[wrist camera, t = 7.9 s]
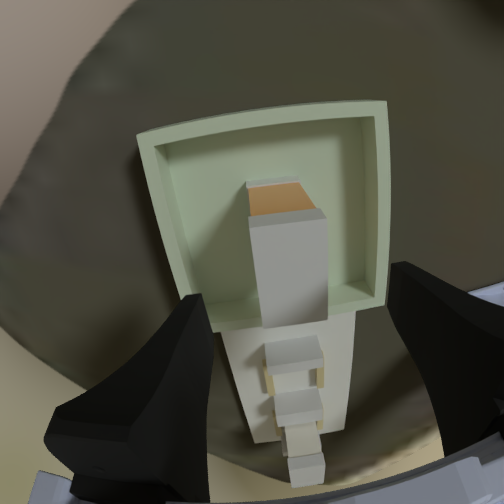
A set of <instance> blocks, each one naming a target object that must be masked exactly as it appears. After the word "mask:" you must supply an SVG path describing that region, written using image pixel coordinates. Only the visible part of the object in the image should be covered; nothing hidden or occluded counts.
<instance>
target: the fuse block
mask: <svg viewBox="0 0 504 504" xmlns="http://www.w3.org/2000/svg"><path fill="white" fill-rule="evenodd" d="M354 329H355V311H352V312H347V313H341V314H336V315H330V316H328V320H324V321H318V322H311V323H305V324H298V325H290V326H283V327H276V328H268V329H263V326H262V327H254V328H247V329H239V330H231V331H223V332H221V335H222V338H223V342H224V345H225V349H226V352H227V356H228V359H229V363H230V366H231V369H232V373H233V376H234V379H235V383H236V386H237V389H238V392H239V396H240V399H241V402H242V405H243V409H244V412H245V415H246V418H247V421H248V424H249V427H250V430H251V433H252V436H253V439H254V442H255V443H263V442H271V441H279V440H281V442H282V451H283V456H288V449H287V441H286V436H285V430H284V426H289V425H295V424H302V423H308V422H314V421H316V426H317V431H318V436H319V434H323V433H329V432H334V431H338V430H343V429H344V426H345V419H346V411H347V403H348V395H349V386H350V377H351V367H352V355H353V343H354ZM319 441H320V436H319ZM320 446H321V441H320ZM321 447H322V446H321Z"/></svg>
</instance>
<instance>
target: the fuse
mask: <svg viewBox="0 0 504 504" xmlns="http://www.w3.org/2000/svg"><path fill="white" fill-rule="evenodd" d="M284 430H285V436H286V441H287V449H288V457H289V458H288V467H289V474H290V480H291V486H292V488H297V487H303V486H309V485H316V484H321V483H324V473H325V460H324V455H323V453H322V451H321V446H320V441H319V436H318V431H317V426H316V421H314V422H308V423H302V424H295V425H289V426H284Z"/></svg>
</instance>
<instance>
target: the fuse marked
mask: <svg viewBox="0 0 504 504" xmlns="http://www.w3.org/2000/svg"><path fill="white" fill-rule="evenodd" d="M246 189H247V196H248V204H249V211H250V217H248V220H249V231H250V238H251V245H252V252H253V259H254V267H255V274H256V281H257V288H258V295H259V302H260V309H261V316H262V324H263V329H268V328H276V327H283V326H290V325H298V324H305V323H311V322H318V321H324V320H328V231H327V218H326V216H325V215H324V213H323V212H322V210H321V209H320V208H316V207H315V205H314V204H313V202H312V201H311V199H310V198H309V196H308V195H307V193H306V192H305V190H304V189H303V187H302V186H301V180H300V179H299V177H298V176H297V175H294V176H285V177H276V178H267V179H259V180H251V181H246Z"/></svg>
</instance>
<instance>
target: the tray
mask: <svg viewBox="0 0 504 504" xmlns="http://www.w3.org/2000/svg"><path fill="white" fill-rule="evenodd" d="M136 136H137V141H138V146H139V150H140V154H141V159H142V163H143V167H144V171H145V176H146V180H147V184H148V188H149V192H150V196H151V199H152V203H153V207H154V211H155V215H156V218H157V222H158V226H159V229H160V233H161V236H162V240H163V243H164V247H165V250H166V253H167V257H168V260H169V264H170V267H171V270H172V273H173V277H174V280H175V283H176V286H177V289H178V292H179V296H180V299H181V300H182V299H183V298H184V296H185V295H189V294H197V293H202V297H203V300H204V304H205V307H206V311H207V314H208V318H209V321H210V324H211V328H212V331H213V333H215V332H223V331H231V330H239V329H247V328H254V327H262V326H263V324H262V316H261V309H260V302H259V295H258V288H257V281H256V274H255V267H254V259H253V252H252V245H251V238H250V231H249V220H248V217H250V211H249V204H248V196H247V189H246V181H251V180H259V179H267V178H276V177H285V176H294V175H297V176H298V177H299V179H300V180H301V186H302V187H303V189H304V190H305V192H306V193H307V195H308V196H309V198H310V199H311V201H312V202H313V204H314V205H315V207H316V208H320V209H321V210H322V212H323V213H324V215H325V216H326V218H327V231H328V316H330V315H336V314H341V313H347V312H352V311H357V310H362V309H367V308H372V307H377V306H382V305H384V304H385V294H386V284H387V272H388V258H389V239H390V206H391V177H390V144H389V126H388V113H387V101H378V100H346V101H328V102H315V103H303V104H293V105H283V106H275V107H267V108H259V109H252V110H245V111H239V112H233V113H227V114H221V115H215V116H210V117H204V118H199V119H194V120H190V121H185V122H180V123H176V124H171V125H167V126H163V127H158V128H154V129H150V130H148V131H145V132H142V133H140V134H137V135H136Z"/></svg>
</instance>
